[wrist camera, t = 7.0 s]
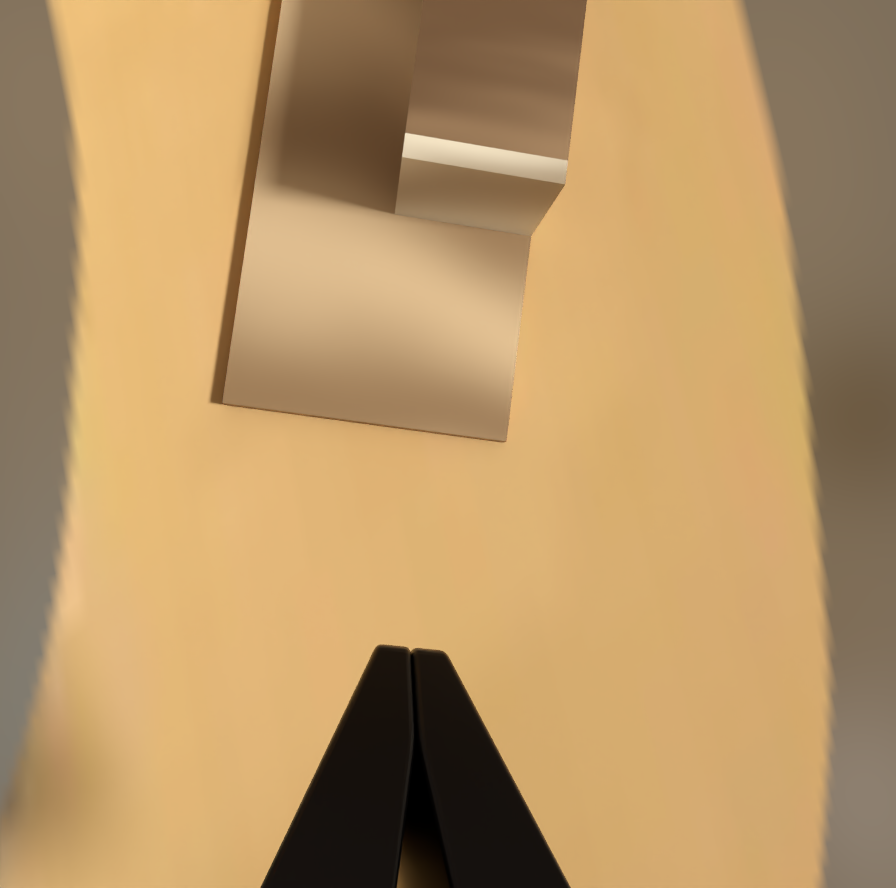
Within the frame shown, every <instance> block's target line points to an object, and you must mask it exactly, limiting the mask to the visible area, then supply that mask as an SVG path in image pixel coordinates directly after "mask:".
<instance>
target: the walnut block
mask: <svg viewBox="0 0 896 888" xmlns="http://www.w3.org/2000/svg"><path fill="white" fill-rule="evenodd" d="M586 2H587V0H423V5H422V12H421V19H420V27H419V34H418V42H417V49H416V57H415V64H414V72H413V79H412V86H411V94H410V101H409V109H408V116H407V124H406V131H405V139H404V146H403V153H402V161H401V169H400V177H399V184H398V192H397V200H396V207H395V214H396V215H402V216H408V217H414V218H421V219H427V220H433V221H439V222H446V223H452V224H458V225H464V226H470V227H477V228H483V229H489V230H495V231H502V232H508V233H514V234H520V235H526V236H532V234H533V232H534V231H535V229H536V228H537V226H538V225H539V223H540V222H541V220H542V219H543V217H544V216H545V214H546V213H547V211H548V210H549V208H550V207H551V205H552V204H553V202H554V201H555V199H556V197H557V196H558V194H559V193H560V191H561V190H562V188H563V187H564V185H565V181H566V173H567V164H568V156H569V147H570V139H571V130H572V122H573V113H574V105H575V96H576V88H577V79H578V70H579V62H580V53H581V45H582V36H583V28H584V19H585V11H586Z"/></svg>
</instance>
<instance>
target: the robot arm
mask: <svg viewBox="0 0 896 888" xmlns="http://www.w3.org/2000/svg"><path fill="white" fill-rule="evenodd" d="M261 888H571V887H570V886H569V884H568V882H567V880H566V878H565V876H564V874H563V872H562V870H561V869H560V867H559V865H558V863H557V861H556V859H555V857H554V855H553V853H552V852H551V850H550V848H549V846H548V844H547V842H546V840H545V838H544V836H543V835H542V833H541V831H540V829H539V827H538V825H537V823H536V821H535V819H534V817H533V816H532V814H531V812H530V810H529V808H528V806H527V804H526V802H525V800H524V799H523V797H522V795H521V793H520V791H519V789H518V787H517V785H516V783H515V782H514V780H513V778H512V776H511V774H510V772H509V770H508V768H507V766H506V765H505V763H504V761H503V759H502V757H501V755H500V753H499V751H498V749H497V747H496V746H495V744H494V742H493V740H492V738H491V736H490V734H489V732H488V730H487V729H486V727H485V725H484V723H483V721H482V719H481V717H480V715H479V713H478V712H477V710H476V708H475V706H474V704H473V702H472V700H471V698H470V696H469V694H468V693H467V691H466V689H465V687H464V685H463V683H462V681H461V679H460V677H459V676H458V674H457V672H456V670H455V668H454V666H453V664H452V662H451V660H450V659H449V657H448V655H447V654H446V653H445V652H443V651H440V650H432V649H422V648H415V649H413V650H412V651H411V652H410V650H409V649H408V648H407V647H402V646H392V645H378V646H377V647H376V648H375V649H374V651H373V653H372V655H371V658H370V660H369V662H368V664H367V666H366V668H365V670H364V672H363V674H362V676H361V678H360V681H359V683H358V685H357V687H356V689H355V691H354V693H353V695H352V697H351V699H350V701H349V704H348V706H347V708H346V710H345V712H344V714H343V716H342V718H341V720H340V722H339V724H338V727H337V729H336V731H335V733H334V735H333V737H332V739H331V741H330V743H329V745H328V747H327V750H326V752H325V754H324V756H323V758H322V760H321V762H320V764H319V766H318V768H317V770H316V773H315V775H314V777H313V779H312V781H311V783H310V785H309V787H308V789H307V791H306V794H305V796H304V798H303V800H302V802H301V804H300V806H299V808H298V810H297V812H296V814H295V817H294V819H293V821H292V823H291V825H290V827H289V829H288V831H287V833H286V835H285V837H284V840H283V842H282V844H281V846H280V848H279V850H278V852H277V854H276V856H275V858H274V860H273V863H272V865H271V867H270V869H269V871H268V873H267V875H266V877H265V879H264V881H263V883H262V886H261Z"/></svg>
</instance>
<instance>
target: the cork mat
mask: <svg viewBox="0 0 896 888" xmlns="http://www.w3.org/2000/svg"><path fill="white" fill-rule="evenodd" d="M422 5H423V0H282V4H281V11H280V18H279V24H278V31H277V38H276V44H275V51H274V58H273V65H272V71H271V78H270V85H269V91H268V98H267V105H266V112H265V118H264V125H263V132H262V138H261V145H260V152H259V159H258V165H257V172H256V179H255V186H254V192H253V199H252V206H251V212H250V219H249V226H248V233H247V239H246V246H245V253H244V259H243V266H242V273H241V280H240V286H239V293H238V300H237V306H236V313H235V320H234V327H233V333H232V340H231V347H230V353H229V360H228V367H227V374H226V380H225V387H224V394H223V401H222V403H223V404H224V405H232V406H239V407H246V408H254V409H261V410H269V411H276V412H283V413H291V414H298V415H306V416H313V417H320V418H328V419H335V420H343V421H350V422H357V423H365V424H372V425H380V426H387V427H394V428H402V429H409V430H416V431H424V432H431V433H439V434H446V435H453V436H461V437H468V438H476V439H483V440H490V441H498V442H506V440H507V432H508V423H509V415H510V407H511V399H512V390H513V382H514V374H515V365H516V357H517V349H518V340H519V332H520V324H521V315H522V307H523V299H524V290H525V282H526V274H527V266H528V257H529V249H530V241H531V236H526V235H520V234H514V233H508V232H502V231H495V230H489V229H483V228H477V227H470V226H464V225H458V224H452V223H446V222H439V221H433V220H427V219H421V218H414V217H408V216H402V215H396V214H395V207H396V200H397V192H398V184H399V177H400V169H401V161H402V153H403V146H404V139H405V131H406V124H407V116H408V109H409V101H410V94H411V86H412V79H413V72H414V64H415V57H416V49H417V42H418V34H419V27H420V19H421V12H422Z"/></svg>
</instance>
